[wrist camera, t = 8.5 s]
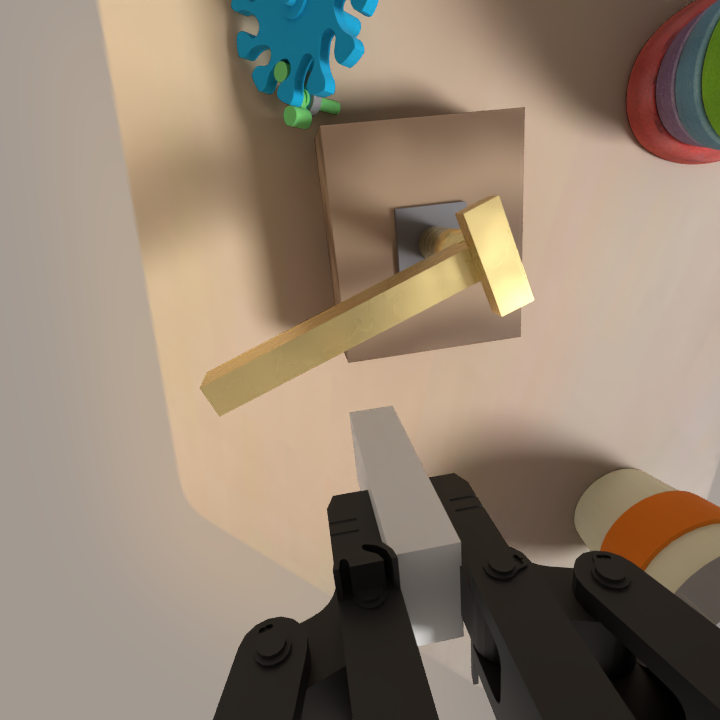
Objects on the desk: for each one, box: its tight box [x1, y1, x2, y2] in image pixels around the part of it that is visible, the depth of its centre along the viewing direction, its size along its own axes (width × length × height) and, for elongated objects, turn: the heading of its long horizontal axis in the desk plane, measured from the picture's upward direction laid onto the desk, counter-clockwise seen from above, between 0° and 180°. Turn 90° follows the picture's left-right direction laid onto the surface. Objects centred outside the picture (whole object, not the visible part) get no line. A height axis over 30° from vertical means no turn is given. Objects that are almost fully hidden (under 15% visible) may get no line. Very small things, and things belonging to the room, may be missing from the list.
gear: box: [231, 0, 378, 129], centre depth 25 cm, size 11×6×10 cm
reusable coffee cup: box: [574, 468, 720, 628], centre depth 37 cm, size 12×13×15 cm
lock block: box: [315, 107, 525, 363], centre depth 30 cm, size 14×12×5 cm
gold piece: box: [200, 195, 534, 417], centre depth 23 cm, size 15×5×9 cm, turn 116°
